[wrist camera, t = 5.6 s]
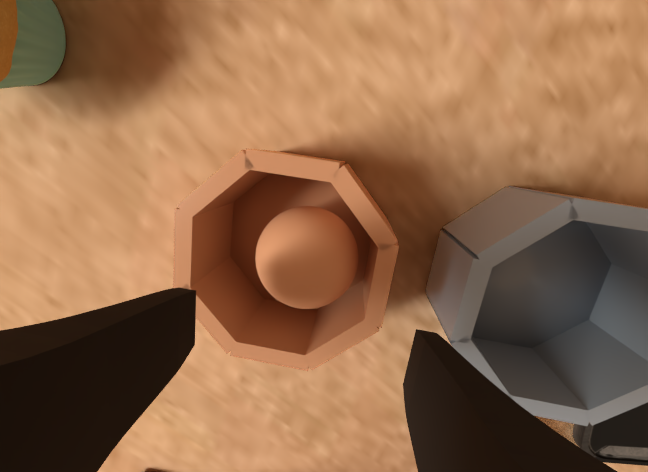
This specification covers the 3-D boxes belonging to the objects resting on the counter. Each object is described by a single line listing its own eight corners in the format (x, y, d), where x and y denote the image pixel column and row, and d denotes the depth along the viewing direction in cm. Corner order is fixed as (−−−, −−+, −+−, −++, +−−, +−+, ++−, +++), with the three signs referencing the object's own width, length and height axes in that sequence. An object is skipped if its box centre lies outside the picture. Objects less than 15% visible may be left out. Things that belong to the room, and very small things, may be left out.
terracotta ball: (332, 283, 17) (364, 328, 13) (248, 281, 15) (255, 332, 11) (345, 202, 16) (385, 223, 12) (256, 193, 14) (266, 214, 10)
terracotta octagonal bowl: (366, 325, 17) (369, 383, 13) (218, 297, 17) (172, 343, 13) (398, 169, 15) (415, 173, 10) (227, 143, 15) (176, 138, 11)
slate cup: (576, 364, 16) (657, 440, 12) (414, 334, 17) (434, 396, 12) (642, 205, 14) (770, 227, 10) (453, 177, 15) (494, 185, 10)
